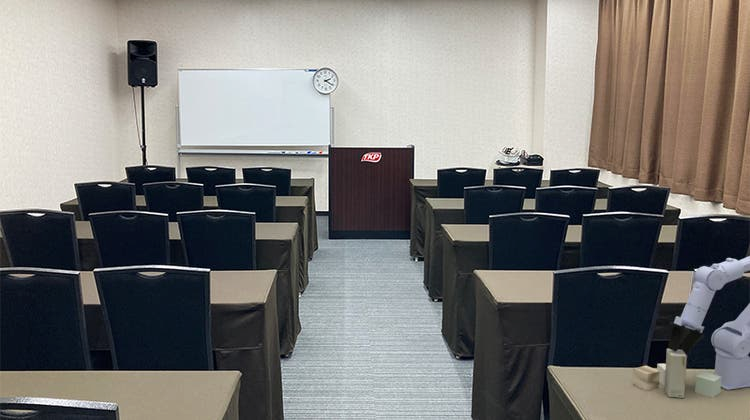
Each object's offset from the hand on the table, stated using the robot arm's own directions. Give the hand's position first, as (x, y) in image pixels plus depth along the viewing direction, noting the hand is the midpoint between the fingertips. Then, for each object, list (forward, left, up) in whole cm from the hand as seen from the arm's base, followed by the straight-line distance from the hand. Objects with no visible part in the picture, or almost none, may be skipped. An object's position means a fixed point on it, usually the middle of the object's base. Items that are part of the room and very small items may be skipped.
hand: (678, 351), depth 203 cm
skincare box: (+2, +2, -12) cm, 12 cm away
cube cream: (-2, -5, -12) cm, 13 cm away
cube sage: (-7, +4, -12) cm, 15 cm away
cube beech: (+6, -5, -12) cm, 14 cm away
